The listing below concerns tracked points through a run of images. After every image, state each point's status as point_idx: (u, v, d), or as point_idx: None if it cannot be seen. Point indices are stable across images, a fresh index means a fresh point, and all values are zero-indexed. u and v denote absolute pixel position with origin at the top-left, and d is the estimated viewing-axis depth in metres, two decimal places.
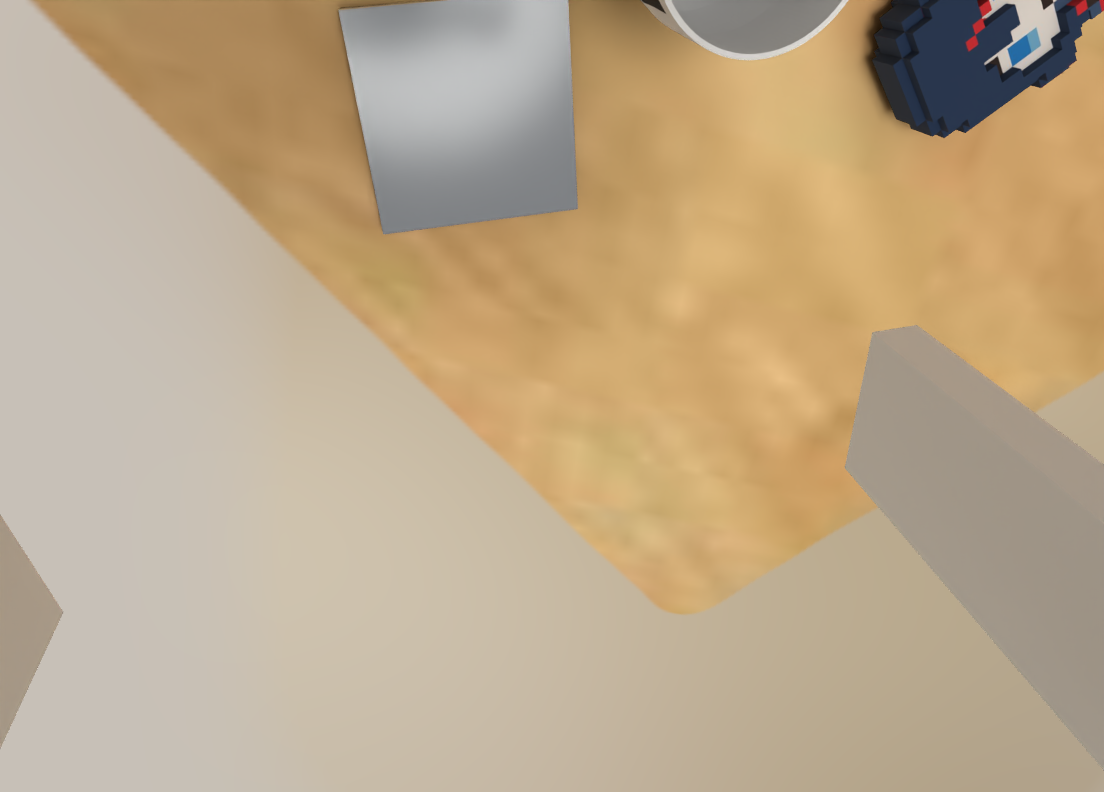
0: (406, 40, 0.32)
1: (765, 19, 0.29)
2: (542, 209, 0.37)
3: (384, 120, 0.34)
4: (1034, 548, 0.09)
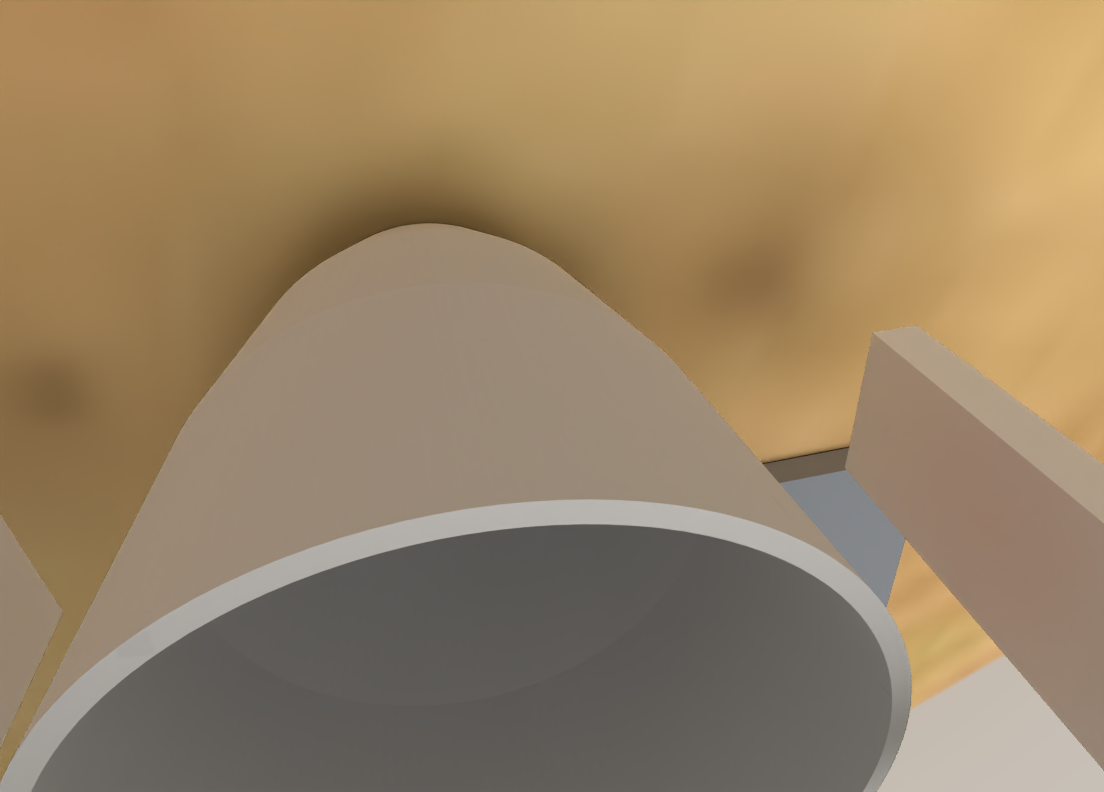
0: None
1: None
2: None
3: None
4: (1034, 548, 0.09)
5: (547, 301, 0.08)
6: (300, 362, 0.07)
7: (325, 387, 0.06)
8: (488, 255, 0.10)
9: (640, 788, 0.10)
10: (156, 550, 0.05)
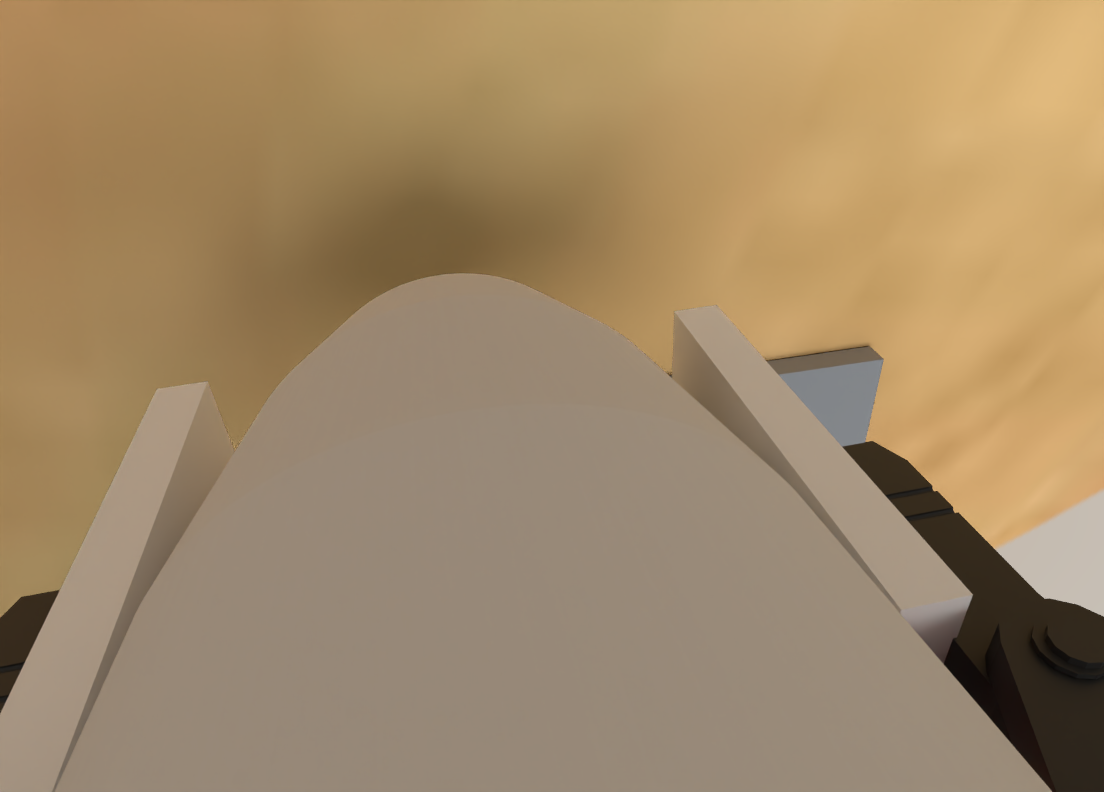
0: None
1: None
2: (866, 410, 0.23)
3: None
4: None
5: (644, 431, 0.06)
6: (305, 550, 0.05)
7: (342, 616, 0.04)
8: (549, 343, 0.08)
9: None
10: None
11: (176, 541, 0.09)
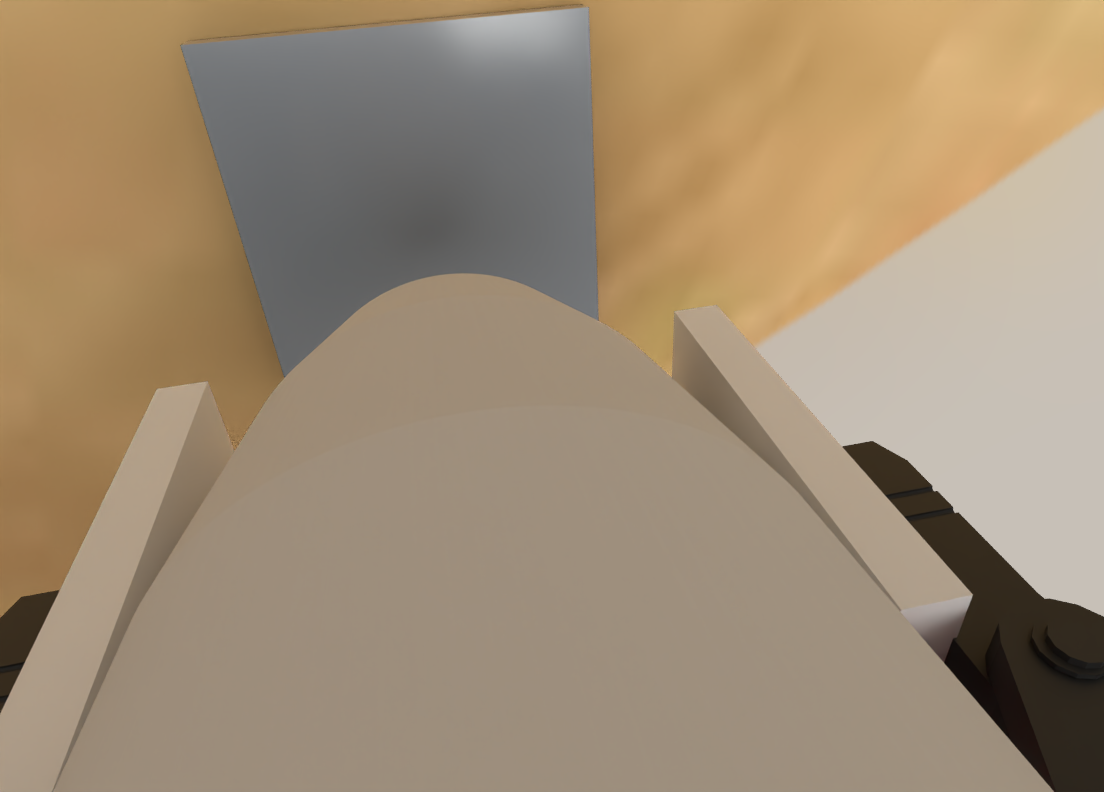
0: (315, 313, 0.22)
1: None
2: (583, 85, 0.20)
3: None
4: None
5: (645, 433, 0.06)
6: (304, 553, 0.05)
7: (340, 621, 0.04)
8: (550, 344, 0.07)
9: None
10: None
11: (176, 541, 0.09)
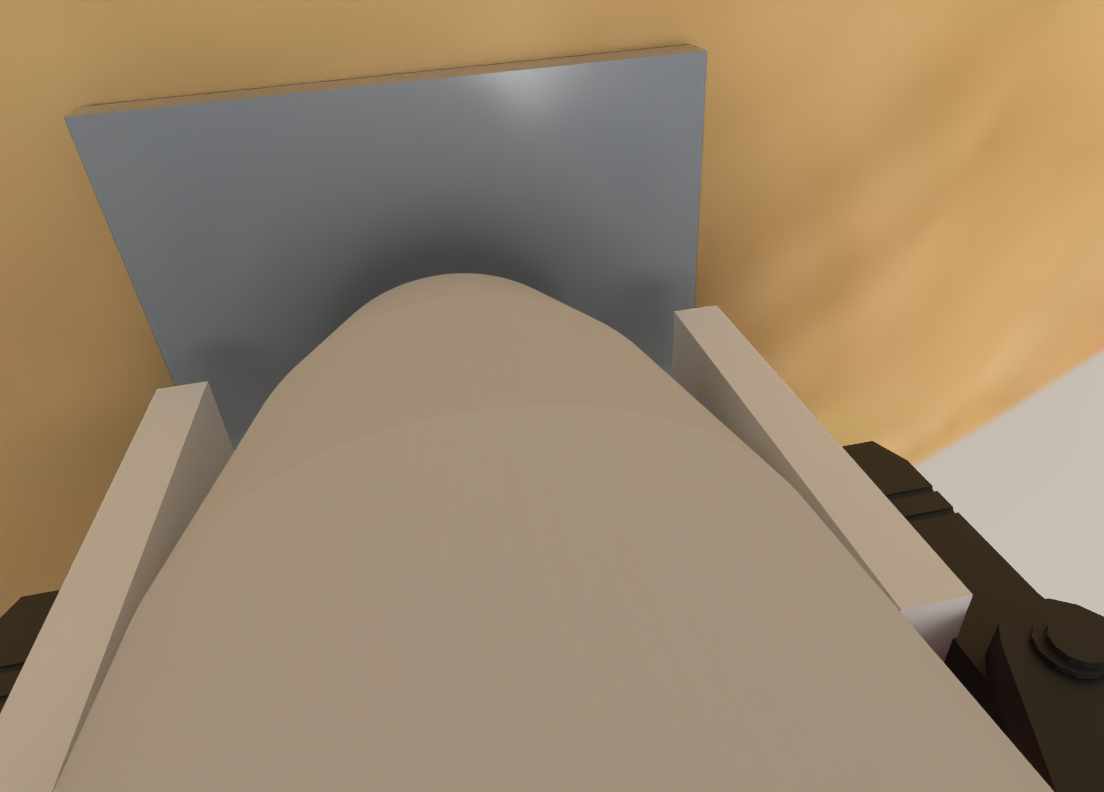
0: None
1: None
2: (690, 164, 0.13)
3: None
4: None
5: (645, 432, 0.06)
6: (304, 553, 0.05)
7: (341, 620, 0.04)
8: (550, 344, 0.07)
9: None
10: None
11: (176, 541, 0.09)
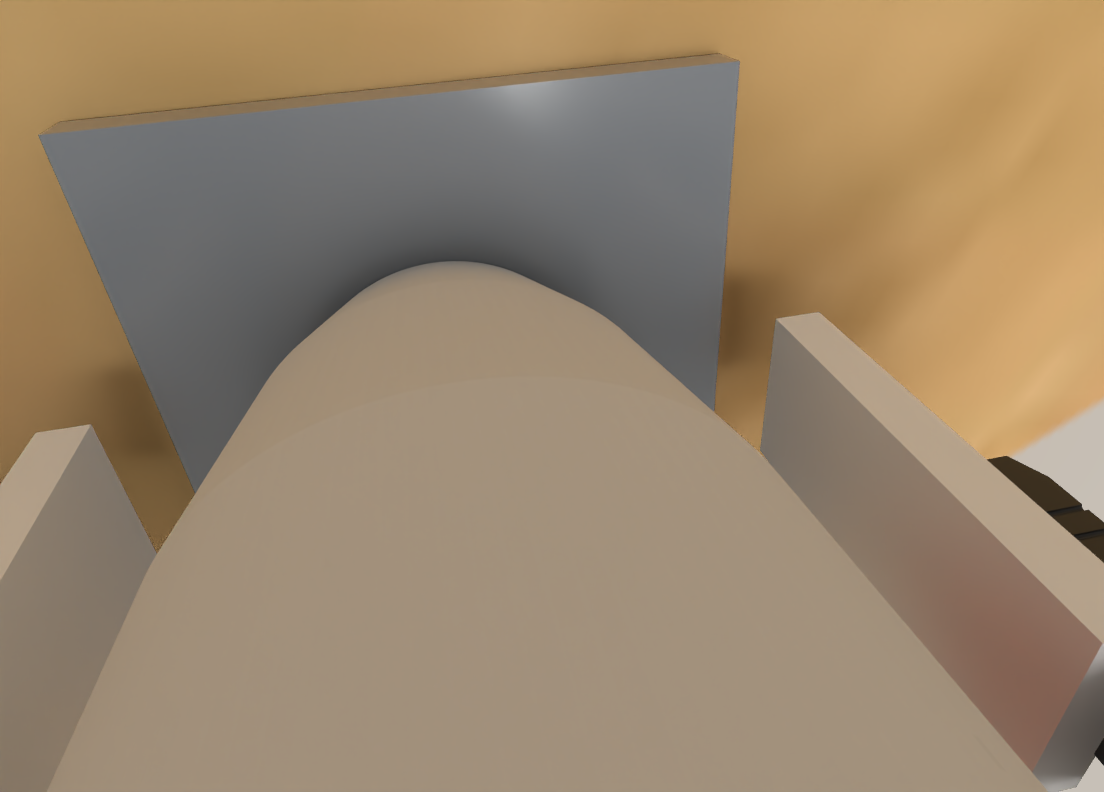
0: None
1: None
2: (718, 183, 0.12)
3: None
4: (900, 517, 0.09)
5: (621, 401, 0.06)
6: (305, 506, 0.05)
7: (339, 560, 0.05)
8: (536, 324, 0.08)
9: None
10: None
11: (27, 610, 0.08)
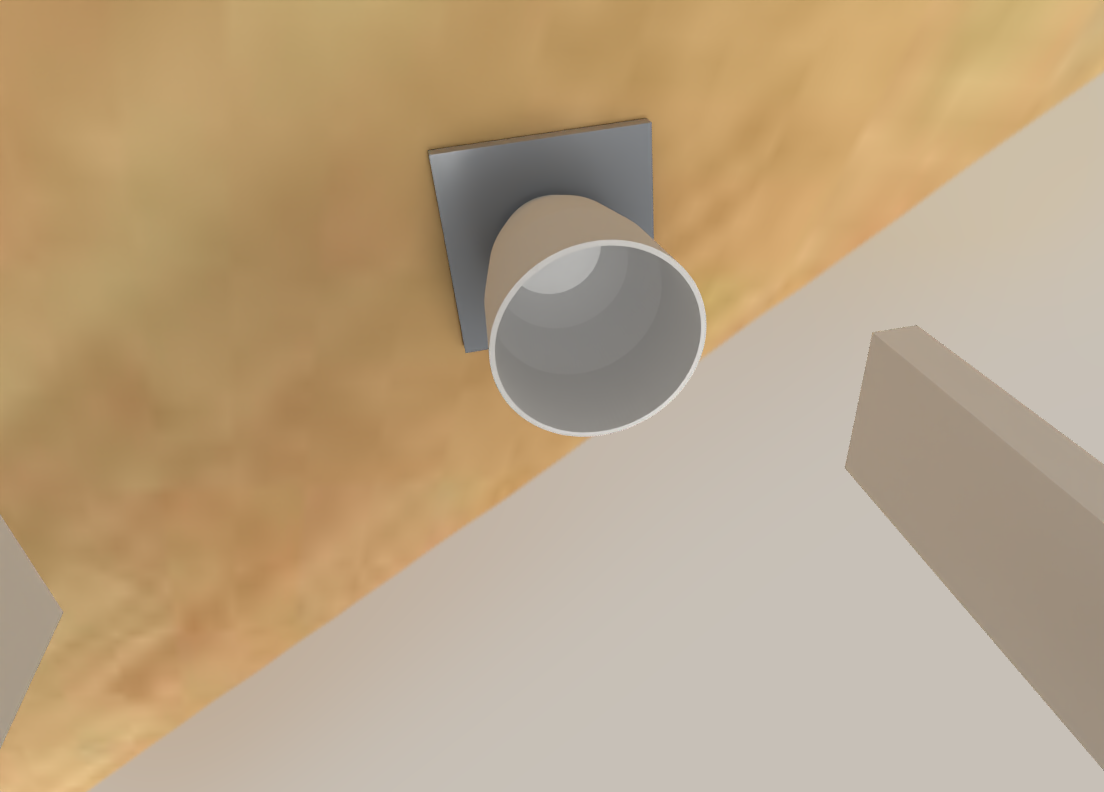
0: None
1: None
2: (647, 164, 0.34)
3: None
4: (1034, 548, 0.09)
5: (607, 212, 0.28)
6: (544, 226, 0.27)
7: (556, 229, 0.26)
8: (586, 202, 0.30)
9: (639, 384, 0.30)
10: (528, 259, 0.25)
11: None
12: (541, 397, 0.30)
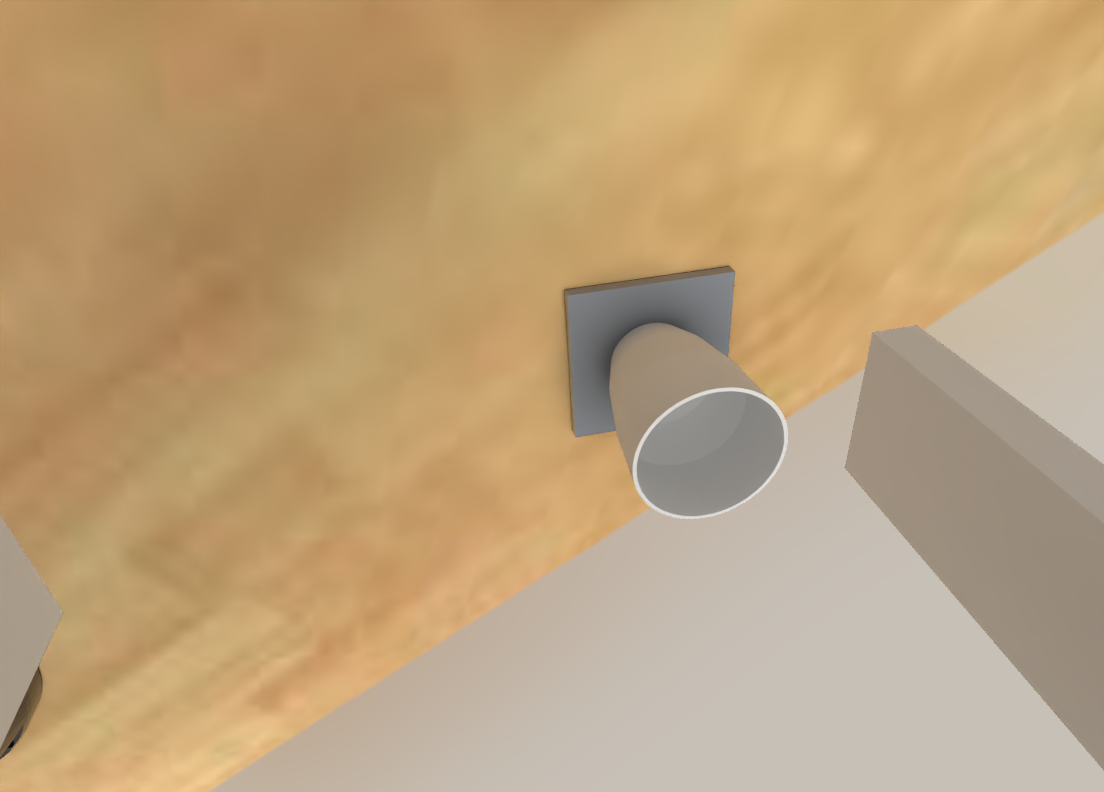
0: (595, 399, 0.45)
1: None
2: (729, 300, 0.43)
3: None
4: (1034, 548, 0.09)
5: (713, 354, 0.38)
6: (671, 367, 0.37)
7: (682, 372, 0.36)
8: (693, 341, 0.39)
9: (728, 477, 0.40)
10: (665, 397, 0.35)
11: None
12: (656, 487, 0.39)
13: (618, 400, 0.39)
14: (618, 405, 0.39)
